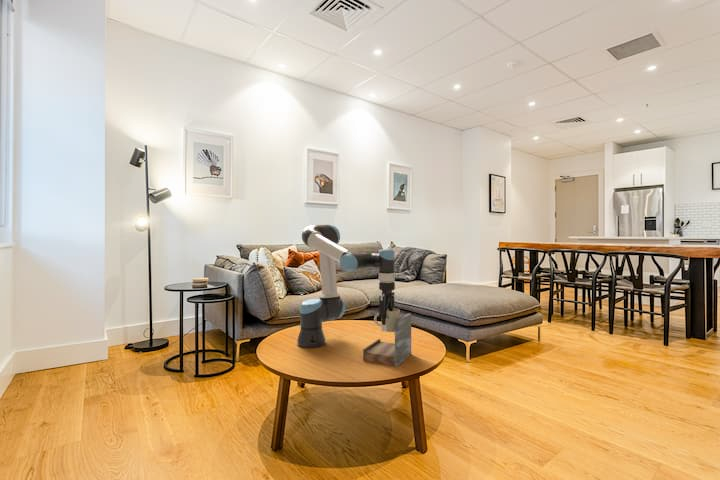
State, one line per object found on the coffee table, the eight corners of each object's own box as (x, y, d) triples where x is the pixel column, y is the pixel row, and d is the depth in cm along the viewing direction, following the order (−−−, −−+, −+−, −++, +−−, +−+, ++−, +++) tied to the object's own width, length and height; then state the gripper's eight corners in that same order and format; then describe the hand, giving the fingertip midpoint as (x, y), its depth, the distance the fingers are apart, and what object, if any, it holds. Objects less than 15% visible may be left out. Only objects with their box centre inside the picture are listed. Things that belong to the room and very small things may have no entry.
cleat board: (363, 360, 167) (362, 317, 166) (378, 348, 183) (378, 310, 182) (398, 366, 159) (397, 322, 158) (411, 354, 175) (411, 313, 174)
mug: (399, 333, 165) (399, 311, 165) (372, 331, 167) (372, 310, 167) (400, 328, 173) (400, 308, 173) (375, 327, 175) (375, 307, 175)
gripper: (386, 284, 160) (386, 335, 160) (401, 279, 177) (401, 325, 177) (371, 283, 163) (371, 333, 164) (387, 278, 180) (387, 324, 181)
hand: (387, 329), depth 171 cm, fingers closed on mug, 6 cm apart
